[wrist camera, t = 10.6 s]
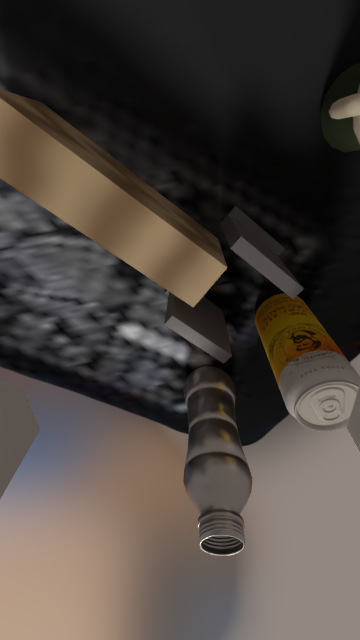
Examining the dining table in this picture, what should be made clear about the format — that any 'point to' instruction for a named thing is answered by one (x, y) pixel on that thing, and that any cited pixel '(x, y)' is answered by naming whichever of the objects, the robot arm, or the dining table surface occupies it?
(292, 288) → the chute
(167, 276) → the tan wooden block
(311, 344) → the beer can
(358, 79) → the character mug
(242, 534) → the plastic bottle
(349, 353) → the dining table surface
